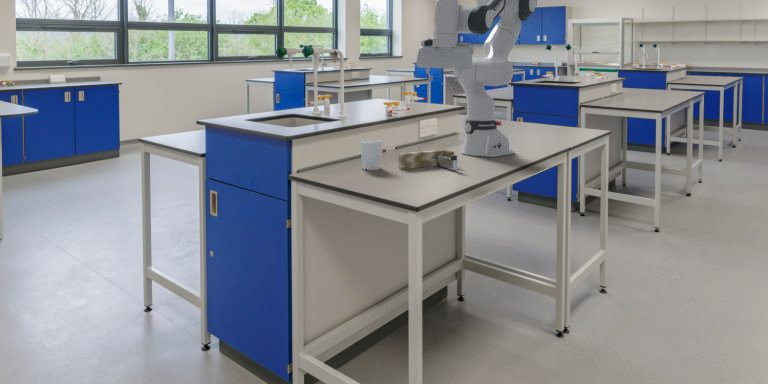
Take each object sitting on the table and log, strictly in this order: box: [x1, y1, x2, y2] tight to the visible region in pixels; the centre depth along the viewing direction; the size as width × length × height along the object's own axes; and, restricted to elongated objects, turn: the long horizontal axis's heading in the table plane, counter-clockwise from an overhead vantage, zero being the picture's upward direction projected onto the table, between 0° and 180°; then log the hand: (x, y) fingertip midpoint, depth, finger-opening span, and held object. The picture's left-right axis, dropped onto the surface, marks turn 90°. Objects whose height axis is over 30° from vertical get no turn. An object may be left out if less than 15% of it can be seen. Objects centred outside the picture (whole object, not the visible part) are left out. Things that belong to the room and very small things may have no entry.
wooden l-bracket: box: [397, 148, 455, 170], centre depth 228 cm, size 20×6×6 cm, turn 118°
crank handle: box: [437, 154, 459, 171], centre depth 226 cm, size 11×3×5 cm, turn 28°
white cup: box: [360, 139, 383, 171], centre depth 224 cm, size 8×8×10 cm
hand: (443, 81), depth 226 cm, fingers open, 8 cm apart
